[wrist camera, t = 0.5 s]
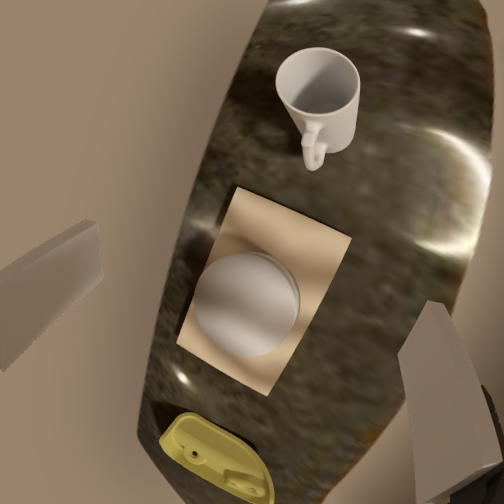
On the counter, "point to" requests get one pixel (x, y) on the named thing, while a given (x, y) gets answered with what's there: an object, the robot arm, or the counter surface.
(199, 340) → the board with round cheese
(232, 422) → the counter surface
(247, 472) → the plastic component
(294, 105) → the mug
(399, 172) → the counter surface
